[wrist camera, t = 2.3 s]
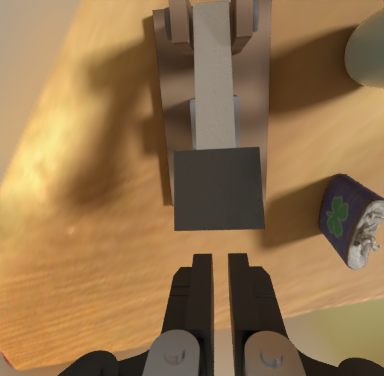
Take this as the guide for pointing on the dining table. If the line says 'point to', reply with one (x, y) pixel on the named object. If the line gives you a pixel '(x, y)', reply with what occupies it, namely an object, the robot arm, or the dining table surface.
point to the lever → (216, 140)
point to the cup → (367, 52)
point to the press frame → (241, 76)
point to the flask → (351, 219)
